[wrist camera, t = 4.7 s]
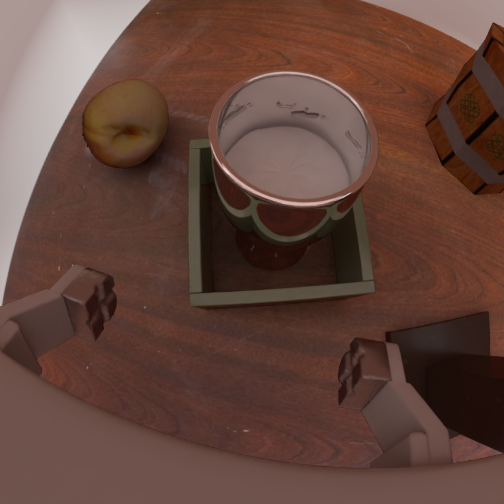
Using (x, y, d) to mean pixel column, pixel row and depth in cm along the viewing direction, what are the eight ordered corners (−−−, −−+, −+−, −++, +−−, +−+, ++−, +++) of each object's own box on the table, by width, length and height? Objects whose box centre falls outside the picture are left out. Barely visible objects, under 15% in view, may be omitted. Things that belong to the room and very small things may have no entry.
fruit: (98, 185, 26) (57, 144, 19) (116, 117, 28) (87, 69, 20) (171, 181, 26) (144, 132, 18) (182, 110, 28) (165, 54, 20)
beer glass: (227, 198, 26) (202, 70, 11) (308, 193, 26) (358, 68, 11) (233, 280, 24) (204, 221, 10) (319, 272, 24) (404, 208, 10)
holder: (205, 309, 24) (189, 306, 18) (201, 176, 26) (189, 139, 21) (348, 299, 24) (375, 292, 18) (330, 170, 26) (347, 134, 21)
